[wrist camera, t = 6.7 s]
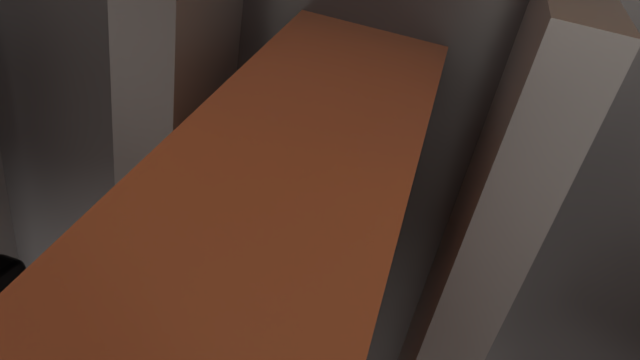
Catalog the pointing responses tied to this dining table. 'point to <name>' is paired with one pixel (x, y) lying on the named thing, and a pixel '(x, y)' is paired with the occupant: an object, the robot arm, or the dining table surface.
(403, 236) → the rack
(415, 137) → the brown flat rectangular slab
